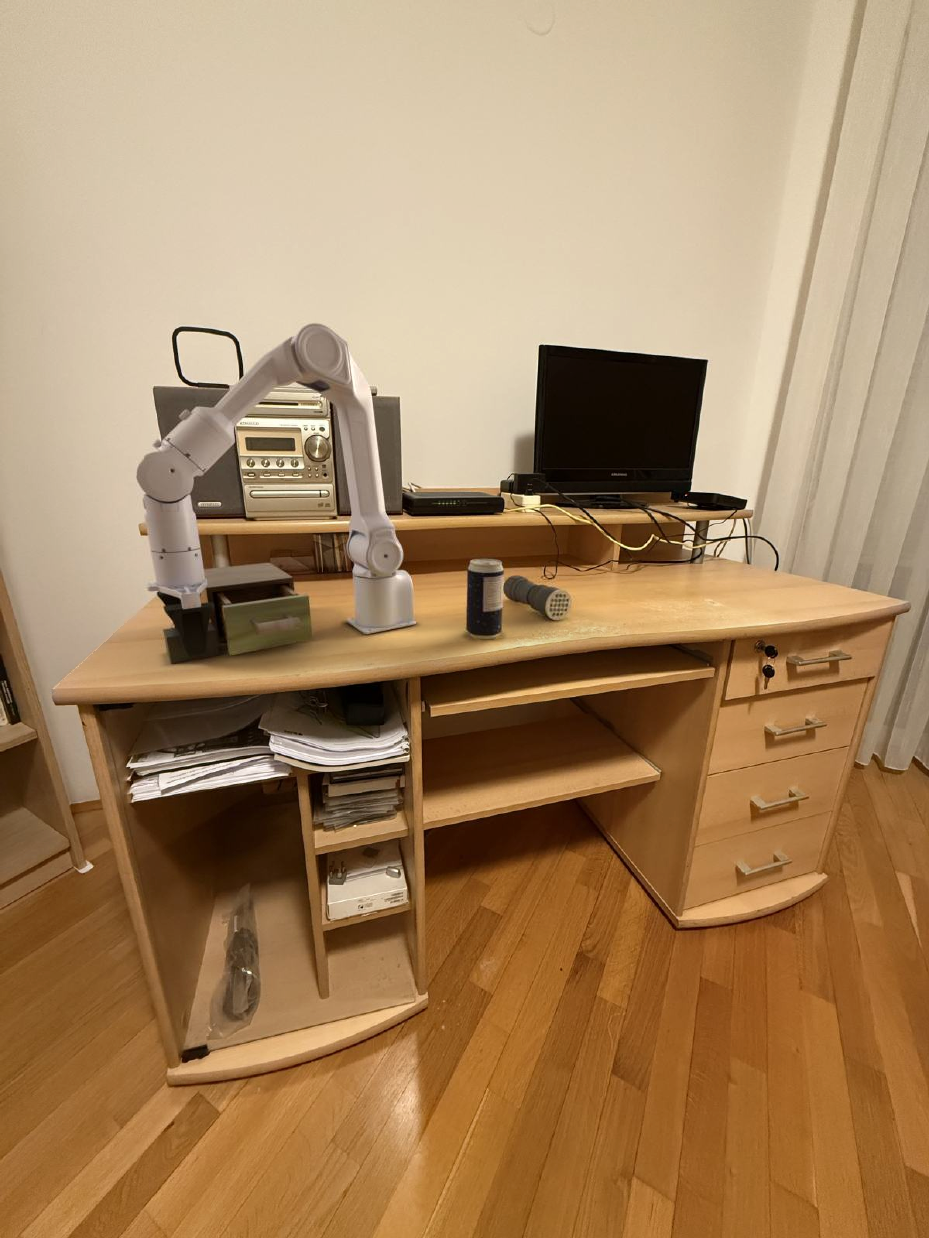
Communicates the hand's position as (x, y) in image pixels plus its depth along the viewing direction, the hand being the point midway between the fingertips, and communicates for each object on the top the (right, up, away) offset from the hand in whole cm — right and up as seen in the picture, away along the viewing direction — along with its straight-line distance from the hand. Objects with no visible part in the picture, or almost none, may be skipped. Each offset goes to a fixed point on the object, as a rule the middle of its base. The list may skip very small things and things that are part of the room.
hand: (192, 645), depth 69 cm
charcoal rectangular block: (0, -1, 0) cm, 1 cm away
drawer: (+9, +1, +4) cm, 10 cm away
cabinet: (+2, +3, +13) cm, 14 cm away
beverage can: (+41, +1, +10) cm, 43 cm away
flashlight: (+52, +5, +25) cm, 57 cm away
